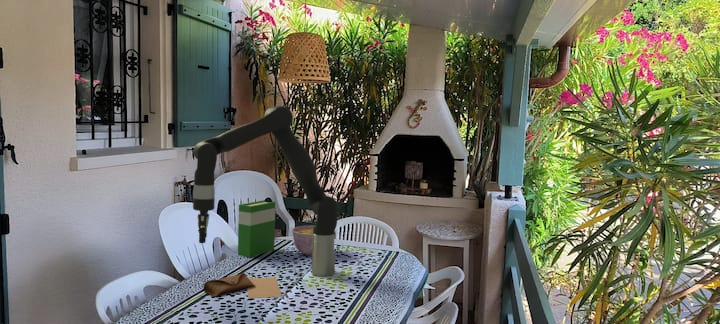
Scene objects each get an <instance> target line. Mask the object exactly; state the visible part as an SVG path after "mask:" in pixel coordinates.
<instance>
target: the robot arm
mask: <svg viewBox="0 0 720 324" xmlns="http://www.w3.org/2000/svg"><path fill="white" fill-rule="evenodd" d="M264 112H265V113H264V116H263V117H261V118H260V119H257V120H255V121H254V120H253V121H252V122H249V123H245V124H242V125H240V126H237V127H235V128H231V129H230V130H227V131H225V132H222V133H221V134H220V135H217V136H214V137H211V138H208V139H205V140H203V141H200V142H198V143H197V144H195V146H194V147H193V150H192V153H193V156H194V158H195V159H196V160H197V161H196V162H197V163H196V169H195V171H194V180H193V184H194V185H193V190H192V192H193V193H192V209H193V210H194V211H197V212H198V211H199V213H198V214H197V228H198V230H197V231H198V237H199V238H198V243H199V244H205V243H206V241H207V239H206V238H207V237H208V236H207V235H208V231H207V230H208V227H209V222H210V221H209V219H210V213H209V212H211V211H213V210H214V209H215V200H216V199H215V198H216V197H215V195H216V191H215V171H216V166H217V161H218V160H217V159H218V155H220V154H223V153H228V152H231V151H234V150H235V149H237V148H240V147H242V146H244V145H246V144H247V143H248V144H249V143H250V142H251V141H254V140H255V139H258V138H260V137H262V136H265V135H267V134H270V133H271V134H272V135H273V137H274V138H275V140H276V142H277V143H278V144H279V148H280V149H281V152H282V153H283V155H284V158H285V160H286V161H287V163H288V165H289V167H290V169H291V171H292V173H293V175H294V176H295V178H296V180H297V181H298V184H299V186H300V187H301V188H302V190H303V192H304V194H305V197H306V198H307V199H306V200H307V202H308V203H309V206H310V209H311V211H312V212H313V213H314V215H316V224H315V225H313V226H314V227H313V245H312V255H311V274H312V275H314V276H317V277H326V276H327V277H328V276H331V275H335V270H336V268H335V267H336V266H335V265H336V251H335V237H336V236H335V234H336V229H337V224H338V214H339V213H338V211H339V206H338V202H337V200H336V199H335V198H334V197H332V196H329V195H327V194H326V193H325V192H324V190H323V188H322V186H321V185H320V183H319V180H318V176H317V174H318V173H317V168H316V165H315V163H314V161H313V159H312V157H311V154H310V153H309V152H308V150H307V148H306V147H305V145H303V143H301V142H300V141H299V140H298V138H296V136H295V135H294V133H293V131H292V129H291V127H290V126H291V125H292V123H293V120H294V116H293V113H292V110H290V109H289V108H288V107H286V106H281V105H278V106H271V107H268V108H267V109H266V111H264Z"/></svg>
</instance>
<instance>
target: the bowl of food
mask: <svg viewBox="0 0 720 324" xmlns="http://www.w3.org/2000/svg"><path fill="white" fill-rule="evenodd" d="M314 226H315V225H301V226H300V225H299V226H296V227H293V228H291V231H292V237H293V240H294V241H293V242H294V246H295V248H296V249H297V251H299V252H301V253H302V254H304V255H305V254H306V256H312V245H313V227H314Z"/></svg>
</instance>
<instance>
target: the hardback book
mask: <svg viewBox="0 0 720 324" xmlns="http://www.w3.org/2000/svg"><path fill="white" fill-rule="evenodd" d="M237 227H238V228H237V233H238V234H237V245H238V246H237V256H240V257H241V256H242V257H246V258H252V257H255V256H258V255H262V254H267V253H268V252H271V251H274V250H275V238H276V237H275V233H276V232H275V231H276V229H275V228H276V201H271V202H266V200H258V201H253V202H252V201H251V202H247V203H241V204H238V225H237Z"/></svg>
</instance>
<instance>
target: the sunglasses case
mask: <svg viewBox="0 0 720 324" xmlns="http://www.w3.org/2000/svg"><path fill="white" fill-rule="evenodd" d="M249 279H250V278H249V277H248V276H247V275H246V273H245V272H244V273H243V272H242V273H240V274H235V275H232V276H227V277H222V278H219V279H210V280H208V281H205V283H204V284H203V292H204V293H206V294H208V295H209V296H212V297H218V296H221V295H226V294H229V293H233V292H237V291H242V290H247V288H250V287H252V286H255V285H254V284H253V283H252V282H251V281H250V280H249Z"/></svg>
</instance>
